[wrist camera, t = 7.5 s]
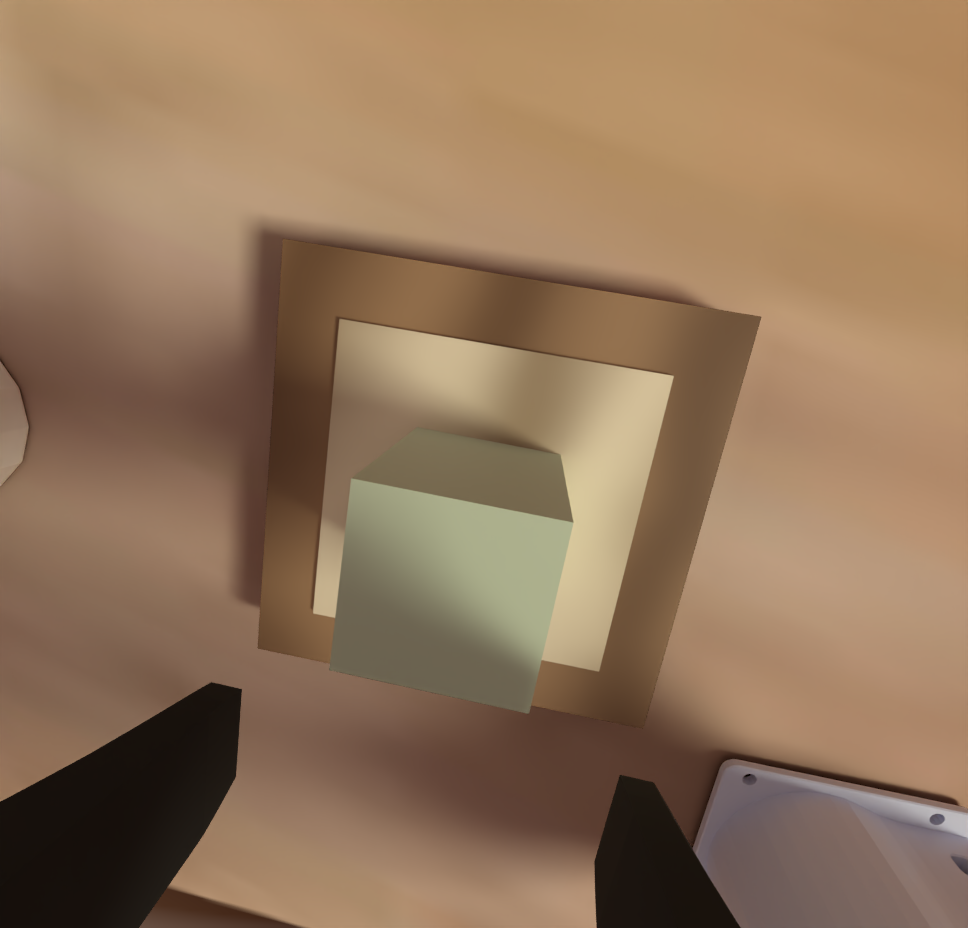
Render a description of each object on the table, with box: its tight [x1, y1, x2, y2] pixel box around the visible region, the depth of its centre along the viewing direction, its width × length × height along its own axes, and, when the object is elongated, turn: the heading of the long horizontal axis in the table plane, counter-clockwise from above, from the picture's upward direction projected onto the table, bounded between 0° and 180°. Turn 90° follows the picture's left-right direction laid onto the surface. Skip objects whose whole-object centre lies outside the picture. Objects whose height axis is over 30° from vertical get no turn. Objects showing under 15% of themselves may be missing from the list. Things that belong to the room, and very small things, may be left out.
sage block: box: [329, 427, 574, 714], centre depth 14 cm, size 4×4×6 cm
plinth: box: [258, 239, 761, 729], centre depth 18 cm, size 14×14×2 cm
